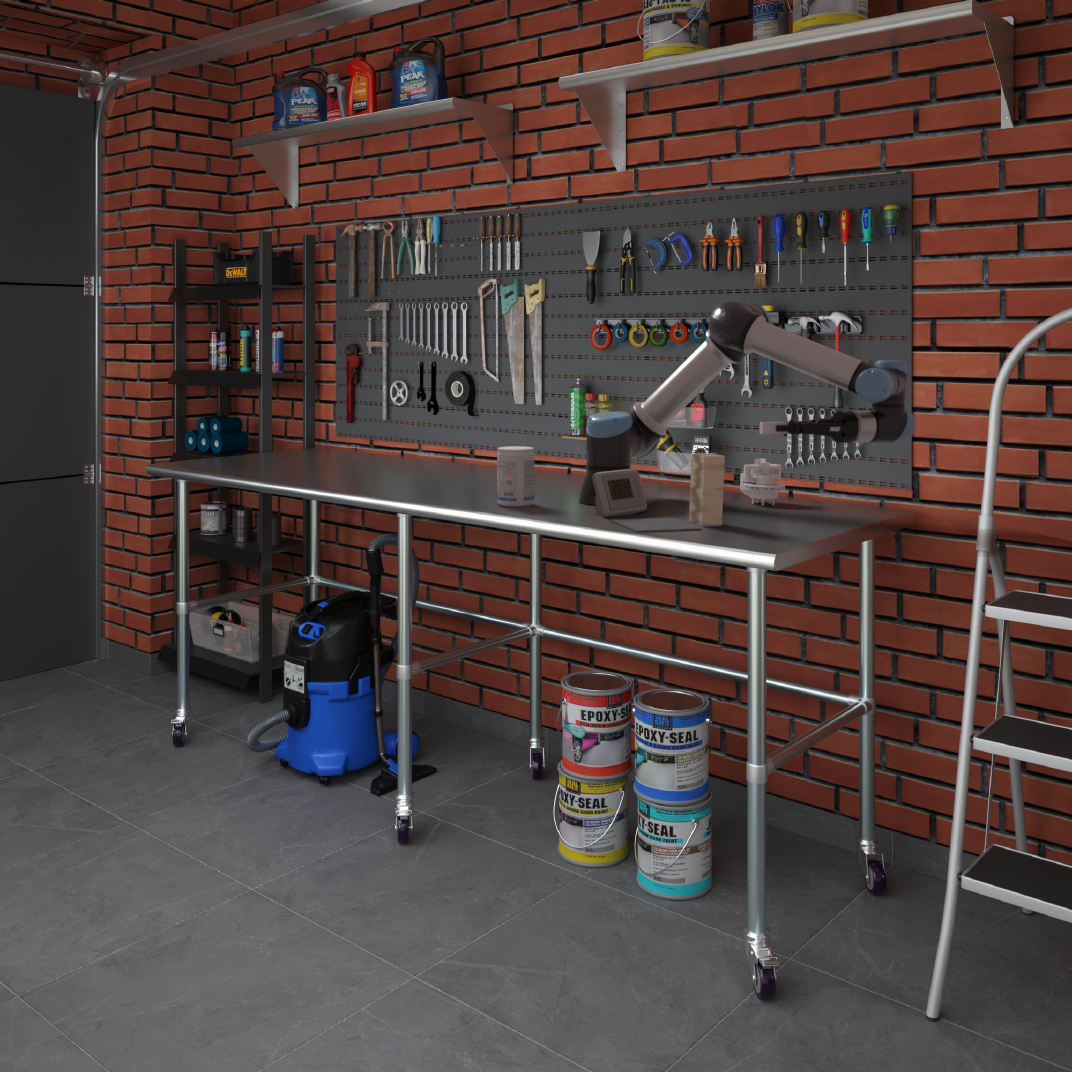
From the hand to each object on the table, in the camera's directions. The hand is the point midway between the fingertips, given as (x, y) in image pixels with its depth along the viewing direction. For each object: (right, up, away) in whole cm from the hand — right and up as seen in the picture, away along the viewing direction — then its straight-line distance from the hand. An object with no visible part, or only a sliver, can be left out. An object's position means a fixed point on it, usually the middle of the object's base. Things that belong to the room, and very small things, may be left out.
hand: (761, 428), depth 239 cm
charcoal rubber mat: (-25, -22, -3) cm, 33 cm away
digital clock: (-31, -20, +15) cm, 40 cm away
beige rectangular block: (-13, -22, +1) cm, 26 cm away
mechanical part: (+8, -16, +36) cm, 41 cm away
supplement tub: (-57, -17, +28) cm, 66 cm away
